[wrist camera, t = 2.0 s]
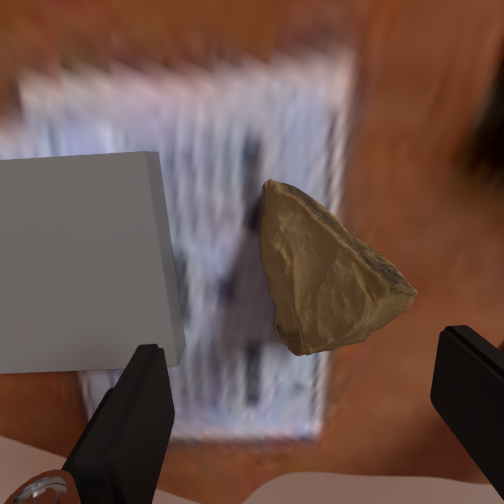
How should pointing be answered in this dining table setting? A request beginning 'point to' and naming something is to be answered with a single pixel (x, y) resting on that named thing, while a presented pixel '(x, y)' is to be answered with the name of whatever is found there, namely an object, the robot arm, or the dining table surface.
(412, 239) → the dining table surface
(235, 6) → the dining table surface
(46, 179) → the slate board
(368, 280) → the rock
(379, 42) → the dining table surface
